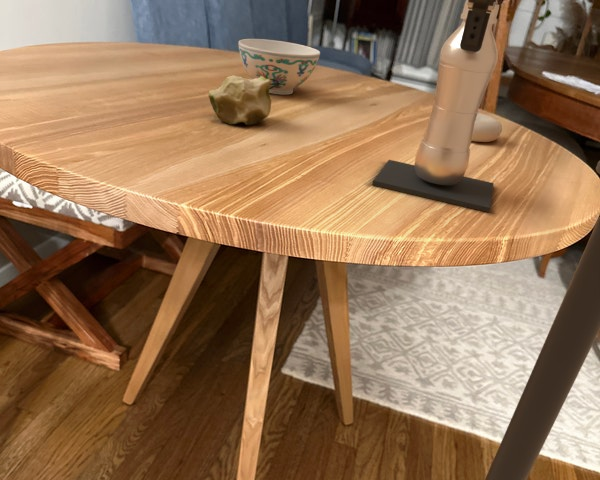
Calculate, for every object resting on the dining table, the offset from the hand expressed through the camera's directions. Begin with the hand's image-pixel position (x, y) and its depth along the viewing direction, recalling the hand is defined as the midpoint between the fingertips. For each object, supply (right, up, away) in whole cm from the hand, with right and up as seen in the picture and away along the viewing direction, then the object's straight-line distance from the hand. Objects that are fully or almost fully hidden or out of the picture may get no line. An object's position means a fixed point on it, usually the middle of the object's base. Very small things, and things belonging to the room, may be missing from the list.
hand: (471, 47), depth 63 cm
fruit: (-28, -1, +23) cm, 37 cm away
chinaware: (-24, +12, +45) cm, 52 cm away
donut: (+10, 0, +34) cm, 35 cm away
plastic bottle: (-2, -13, +8) cm, 16 cm away
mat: (-2, -14, +8) cm, 16 cm away
